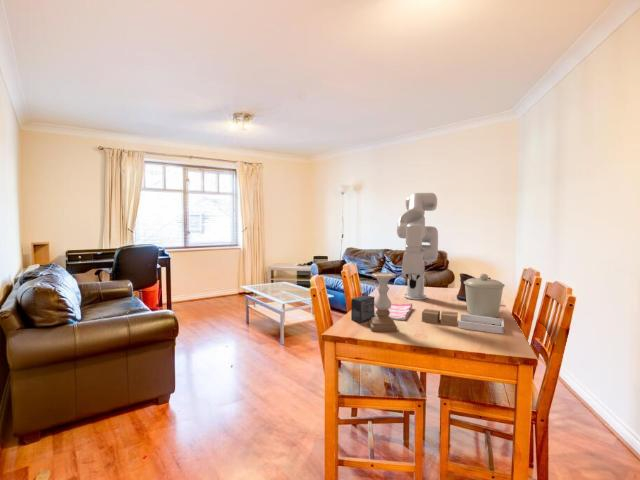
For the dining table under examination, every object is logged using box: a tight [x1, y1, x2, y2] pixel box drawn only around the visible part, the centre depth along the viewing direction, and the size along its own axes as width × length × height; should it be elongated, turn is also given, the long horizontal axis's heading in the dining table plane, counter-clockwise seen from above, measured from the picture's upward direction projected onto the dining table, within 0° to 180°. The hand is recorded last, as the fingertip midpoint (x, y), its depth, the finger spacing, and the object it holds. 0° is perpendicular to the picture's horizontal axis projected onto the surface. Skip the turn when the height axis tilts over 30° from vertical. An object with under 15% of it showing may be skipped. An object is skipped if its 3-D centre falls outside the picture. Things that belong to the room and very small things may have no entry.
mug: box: [456, 272, 492, 302], centre depth 203 cm, size 18×12×15 cm, turn 56°
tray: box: [457, 313, 505, 335], centre depth 157 cm, size 13×18×3 cm
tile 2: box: [440, 310, 459, 326], centre depth 163 cm, size 7×7×4 cm
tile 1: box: [421, 308, 441, 324], centre depth 166 cm, size 7×7×4 cm
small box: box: [350, 294, 375, 324], centre depth 168 cm, size 11×6×10 cm, turn 134°
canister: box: [464, 273, 506, 318], centre depth 171 cm, size 18×18×21 cm
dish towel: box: [374, 302, 413, 321], centre depth 179 cm, size 17×23×4 cm
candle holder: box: [368, 271, 398, 333], centre depth 155 cm, size 11×11×24 cm
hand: (412, 288), depth 169 cm, fingers closed
